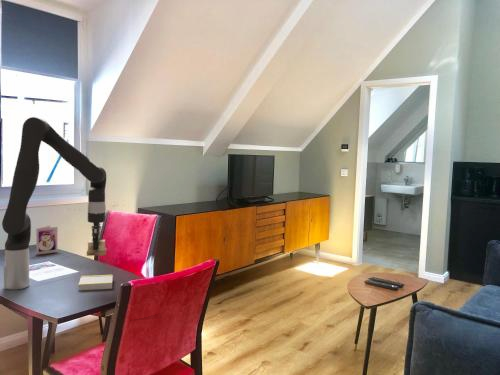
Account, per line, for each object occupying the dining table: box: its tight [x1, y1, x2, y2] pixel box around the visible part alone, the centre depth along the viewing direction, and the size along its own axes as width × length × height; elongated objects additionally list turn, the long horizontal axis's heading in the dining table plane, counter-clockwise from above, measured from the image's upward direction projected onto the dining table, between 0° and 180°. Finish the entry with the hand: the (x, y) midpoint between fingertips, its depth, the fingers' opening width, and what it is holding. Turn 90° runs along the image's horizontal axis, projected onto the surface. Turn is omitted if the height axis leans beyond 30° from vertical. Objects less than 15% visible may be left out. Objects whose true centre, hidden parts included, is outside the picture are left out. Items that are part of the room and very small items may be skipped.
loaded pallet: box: [86, 239, 107, 257], centre depth 186 cm, size 8×5×6 cm, turn 107°
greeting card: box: [35, 225, 58, 256], centre depth 240 cm, size 11×7×15 cm, turn 132°
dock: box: [77, 274, 114, 291], centre depth 187 cm, size 14×12×3 cm
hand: (96, 248), depth 186 cm, fingers closed on loaded pallet, 5 cm apart
